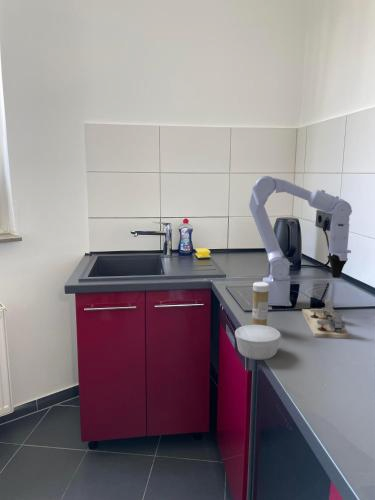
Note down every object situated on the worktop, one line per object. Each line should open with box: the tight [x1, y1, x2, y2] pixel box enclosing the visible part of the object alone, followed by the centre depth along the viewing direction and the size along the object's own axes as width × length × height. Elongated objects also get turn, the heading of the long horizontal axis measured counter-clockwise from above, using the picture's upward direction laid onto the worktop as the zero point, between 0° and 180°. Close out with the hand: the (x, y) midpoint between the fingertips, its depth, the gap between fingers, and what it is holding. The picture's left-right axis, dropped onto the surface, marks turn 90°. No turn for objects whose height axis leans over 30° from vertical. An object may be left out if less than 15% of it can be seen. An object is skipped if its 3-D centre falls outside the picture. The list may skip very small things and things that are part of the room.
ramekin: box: [234, 324, 282, 361], centre depth 99 cm, size 11×11×5 cm
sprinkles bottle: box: [251, 281, 269, 326], centre depth 114 cm, size 5×5×14 cm
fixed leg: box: [317, 309, 346, 331], centre depth 110 cm, size 7×3×5 cm, turn 84°
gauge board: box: [301, 308, 350, 339], centre depth 118 cm, size 9×20×2 cm, turn 174°
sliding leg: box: [310, 298, 335, 318], centre depth 120 cm, size 7×3×5 cm, turn 84°
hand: (335, 277), depth 131 cm, fingers closed
